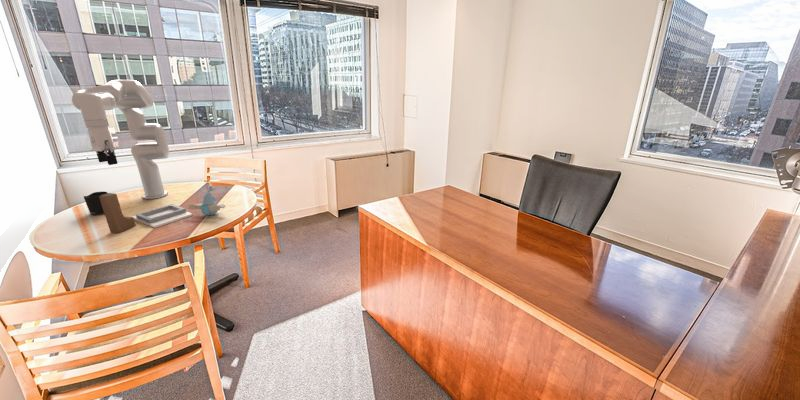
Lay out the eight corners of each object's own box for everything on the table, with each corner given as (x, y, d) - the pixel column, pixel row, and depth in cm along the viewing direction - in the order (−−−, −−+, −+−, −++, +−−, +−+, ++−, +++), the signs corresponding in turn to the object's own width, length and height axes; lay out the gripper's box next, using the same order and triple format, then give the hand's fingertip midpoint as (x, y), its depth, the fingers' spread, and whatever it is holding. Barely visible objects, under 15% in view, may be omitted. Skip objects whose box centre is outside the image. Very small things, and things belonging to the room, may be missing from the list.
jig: (131, 218, 168) (130, 213, 167) (169, 207, 183) (168, 202, 182) (154, 228, 158) (153, 222, 157) (192, 215, 173) (191, 210, 172)
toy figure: (232, 211, 178) (227, 184, 173) (220, 219, 169) (215, 191, 163) (203, 209, 180) (197, 183, 175) (190, 217, 170) (183, 189, 165)
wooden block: (128, 224, 161) (118, 189, 155) (136, 225, 160) (126, 190, 154) (110, 232, 153) (98, 195, 146) (118, 233, 152) (106, 196, 146)
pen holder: (88, 212, 175) (82, 194, 172) (111, 207, 182) (105, 190, 178) (90, 217, 169) (84, 198, 166) (114, 212, 176) (108, 194, 172)
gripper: (77, 123, 143) (90, 162, 149) (93, 126, 135) (106, 167, 140) (99, 121, 149) (110, 159, 155) (116, 124, 141) (127, 163, 146)
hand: (108, 163), depth 148 cm, fingers open, 9 cm apart
